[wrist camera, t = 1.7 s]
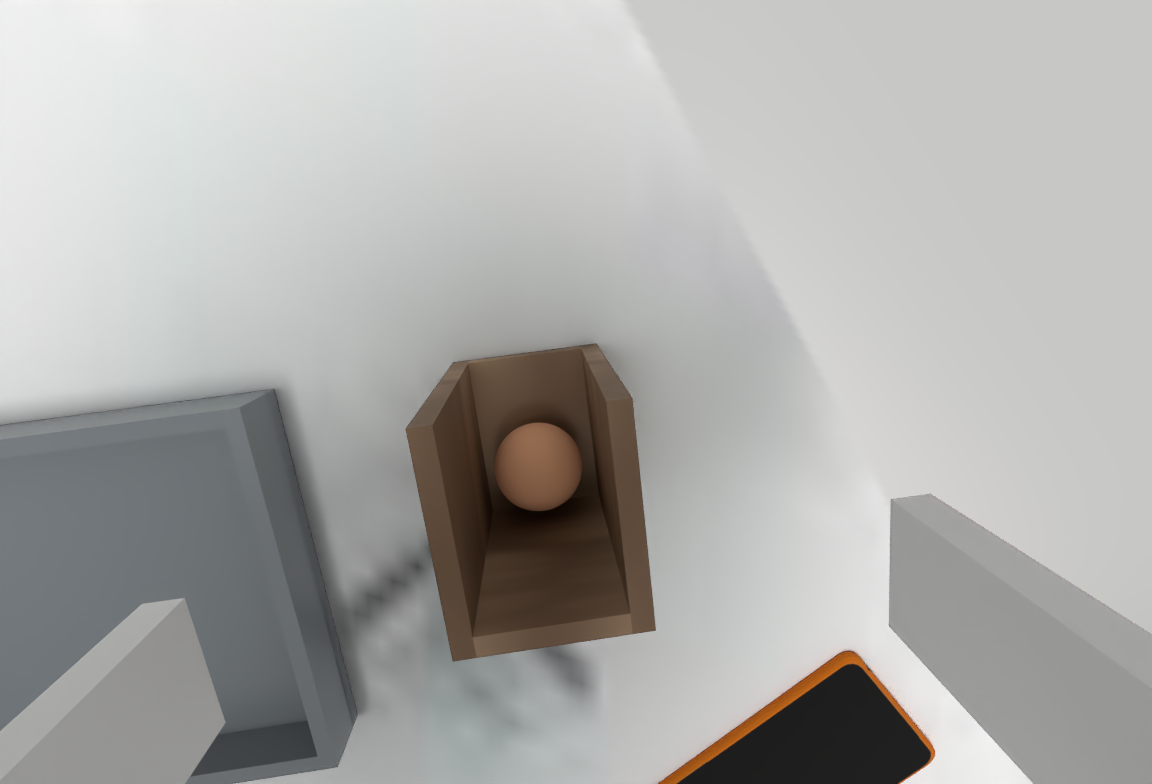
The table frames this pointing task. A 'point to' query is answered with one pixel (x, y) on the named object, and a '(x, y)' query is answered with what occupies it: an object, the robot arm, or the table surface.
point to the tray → (175, 568)
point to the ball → (538, 466)
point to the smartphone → (818, 736)
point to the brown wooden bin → (532, 538)
